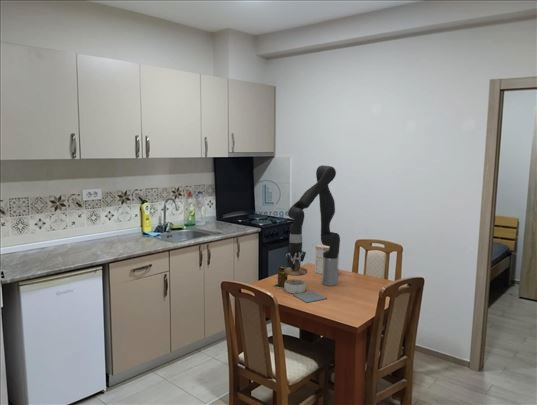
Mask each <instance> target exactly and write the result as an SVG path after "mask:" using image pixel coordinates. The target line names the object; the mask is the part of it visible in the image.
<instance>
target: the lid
mask: <svg viewBox="0 0 537 405" xmlns="http://www.w3.org/2000/svg"><path fill="white" fill-rule="evenodd" d="M294 264H295V270H292V269H291V266H290V267H289V266H288V267H287V268H285V269H284V273H285V274H287V275H288V276H292V277H295V276H296V277H300V276H304V275H307V274H308V269H307V268H304V267H301V266H300V269H299V262H297V260H295V263H294Z"/></svg>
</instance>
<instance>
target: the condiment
mask: <svg viewBox="0 0 537 405" xmlns="http://www.w3.org/2000/svg"><path fill="white" fill-rule="evenodd" d="M285 268H288V267H287V266H285V265H282V266H281V265H280V266H279V267H278V271H277V283H275V284H272V286H273V287H274V288H277V289H285V288H284V284H285V281H286V280H288V276H289V275H287V274H285V273H284V269H285Z"/></svg>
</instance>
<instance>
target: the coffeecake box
mask: <svg viewBox="0 0 537 405" xmlns="http://www.w3.org/2000/svg"><path fill="white" fill-rule="evenodd" d="M326 251H329V246H325V245H323V244H322V243H319V244H315V258H314V260H315V261H314V274H320V275H323V253H324V252H326ZM339 261H340V253H339V254H338V265H337V269H339V265H340V264H339V263H340V262H339Z"/></svg>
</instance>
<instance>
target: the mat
mask: <svg viewBox="0 0 537 405" xmlns="http://www.w3.org/2000/svg"><path fill="white" fill-rule="evenodd" d="M292 296H293V297H295V298H297V299H299V300H301V301H302V302H305V303H306V304H309V303H313V302H318V301H324V300H328V298H327V297H326V296H325V295H322V294H320V293H318V292H316V291H314V290H310V291H305V292H303V293H298V294H292Z"/></svg>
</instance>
